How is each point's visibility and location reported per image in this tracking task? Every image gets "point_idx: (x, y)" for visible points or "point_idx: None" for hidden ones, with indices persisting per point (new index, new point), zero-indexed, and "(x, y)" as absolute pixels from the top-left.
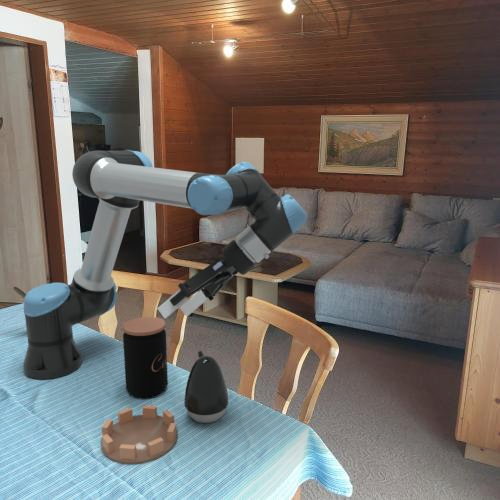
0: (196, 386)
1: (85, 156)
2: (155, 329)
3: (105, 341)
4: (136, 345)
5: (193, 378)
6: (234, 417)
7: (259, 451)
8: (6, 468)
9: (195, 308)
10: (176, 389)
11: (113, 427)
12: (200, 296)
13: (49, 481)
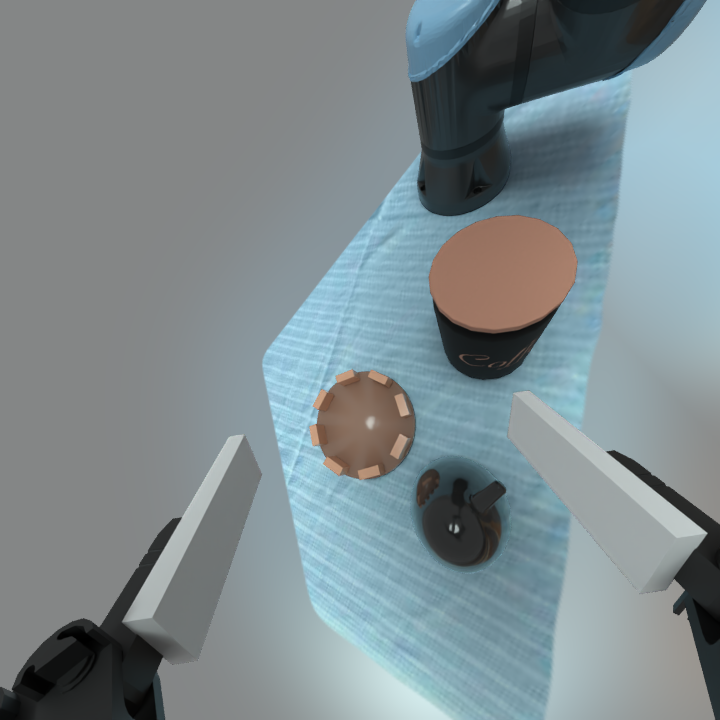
0: (411, 509)
1: None
2: (478, 323)
3: (604, 145)
4: (435, 311)
5: (415, 500)
6: None
7: (409, 642)
8: (284, 329)
9: (548, 484)
10: None
11: (364, 376)
12: (625, 531)
13: (280, 378)
